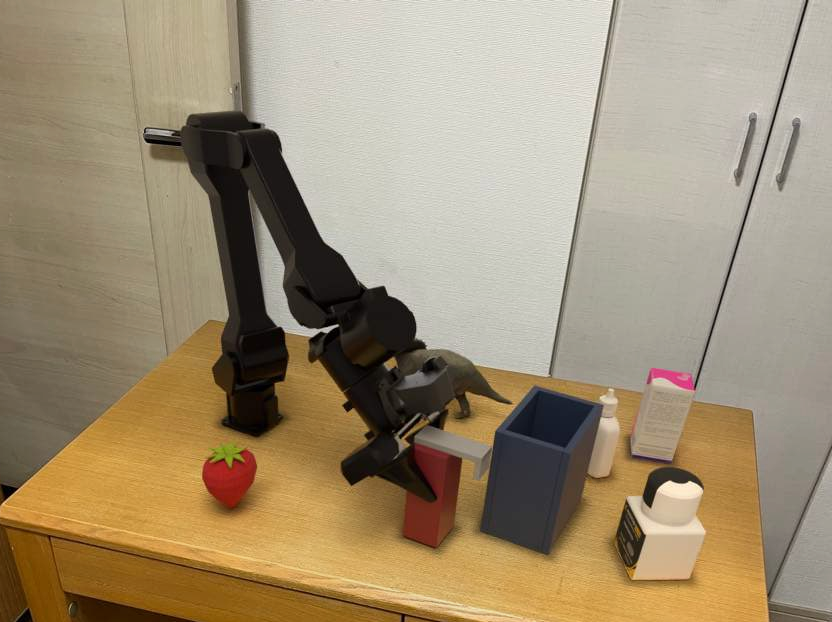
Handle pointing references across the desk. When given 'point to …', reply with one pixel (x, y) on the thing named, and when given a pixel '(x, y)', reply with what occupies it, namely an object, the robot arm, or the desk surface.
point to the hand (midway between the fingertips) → (443, 489)
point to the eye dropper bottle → (605, 437)
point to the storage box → (539, 468)
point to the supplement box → (661, 415)
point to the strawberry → (229, 473)
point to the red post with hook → (441, 481)
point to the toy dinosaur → (463, 368)
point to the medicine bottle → (662, 527)
